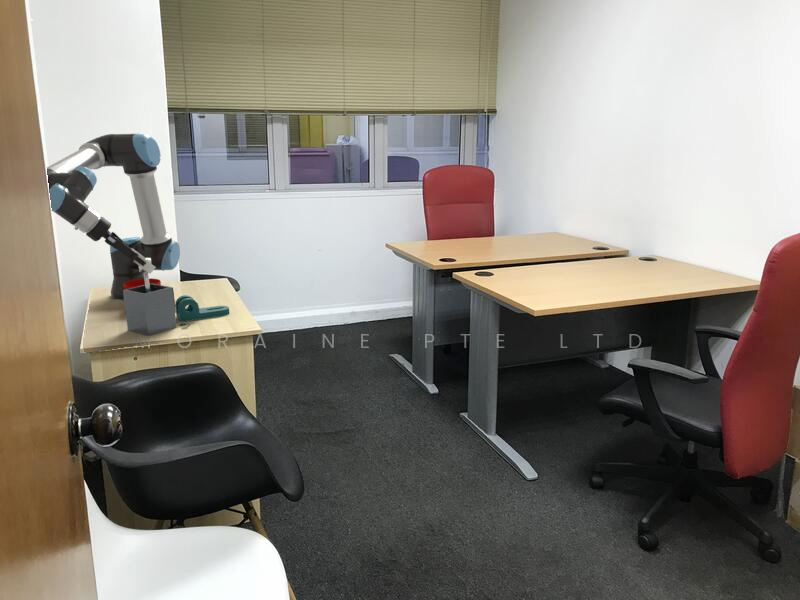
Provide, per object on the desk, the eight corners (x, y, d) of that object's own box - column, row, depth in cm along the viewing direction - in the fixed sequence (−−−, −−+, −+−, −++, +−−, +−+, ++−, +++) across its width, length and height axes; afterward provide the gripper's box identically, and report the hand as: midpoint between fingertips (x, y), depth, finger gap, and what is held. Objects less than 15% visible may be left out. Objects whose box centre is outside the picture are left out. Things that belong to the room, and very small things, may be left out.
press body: (164, 319, 223) (160, 281, 219) (185, 324, 217) (181, 285, 214) (127, 330, 211) (122, 289, 207) (148, 335, 205) (143, 294, 202)
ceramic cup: (160, 314, 230) (157, 287, 227) (119, 311, 233) (115, 285, 231) (179, 304, 242) (176, 279, 239) (139, 302, 245) (136, 277, 243)
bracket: (180, 322, 220) (178, 300, 218) (176, 317, 226) (174, 296, 224) (231, 314, 229) (229, 293, 227) (226, 310, 235) (224, 290, 233)
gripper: (81, 228, 206) (135, 268, 217) (88, 239, 185) (148, 283, 196) (96, 211, 207) (149, 251, 218) (106, 220, 186) (164, 264, 198)
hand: (149, 266), depth 207 cm, fingers open, 13 cm apart
